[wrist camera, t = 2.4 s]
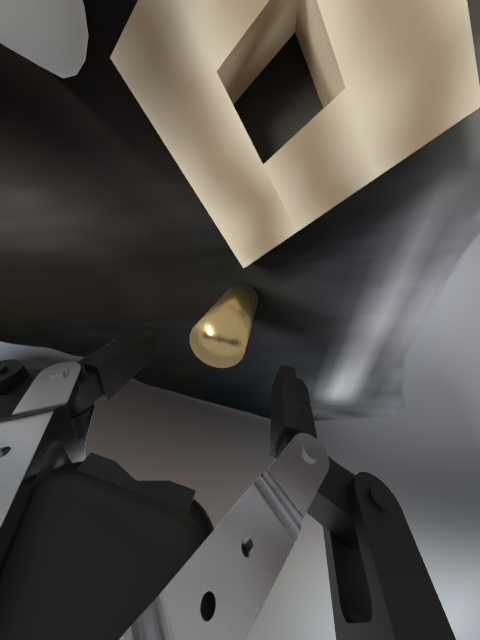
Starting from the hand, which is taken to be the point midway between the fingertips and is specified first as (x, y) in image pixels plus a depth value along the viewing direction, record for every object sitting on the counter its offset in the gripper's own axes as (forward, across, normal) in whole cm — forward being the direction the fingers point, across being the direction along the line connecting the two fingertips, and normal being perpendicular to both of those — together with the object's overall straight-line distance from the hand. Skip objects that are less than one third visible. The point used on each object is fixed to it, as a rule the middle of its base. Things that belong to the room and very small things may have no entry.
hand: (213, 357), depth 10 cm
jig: (+11, 0, -15) cm, 19 cm away
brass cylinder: (+11, 0, 0) cm, 11 cm away
